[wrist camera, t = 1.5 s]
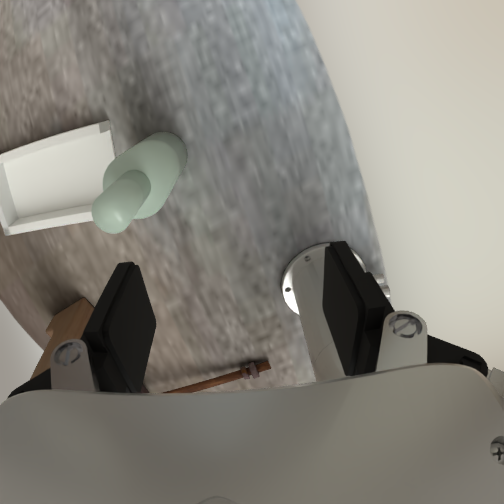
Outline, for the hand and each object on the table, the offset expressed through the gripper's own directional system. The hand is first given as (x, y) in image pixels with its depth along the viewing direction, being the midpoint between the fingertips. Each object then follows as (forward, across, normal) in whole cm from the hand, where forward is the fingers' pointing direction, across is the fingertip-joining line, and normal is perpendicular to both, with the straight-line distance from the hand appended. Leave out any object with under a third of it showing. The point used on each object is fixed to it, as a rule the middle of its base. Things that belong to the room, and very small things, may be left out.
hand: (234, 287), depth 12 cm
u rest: (+28, +24, 0) cm, 37 cm away
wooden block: (+28, +29, +23) cm, 46 cm away
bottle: (+28, +8, 0) cm, 29 cm away
